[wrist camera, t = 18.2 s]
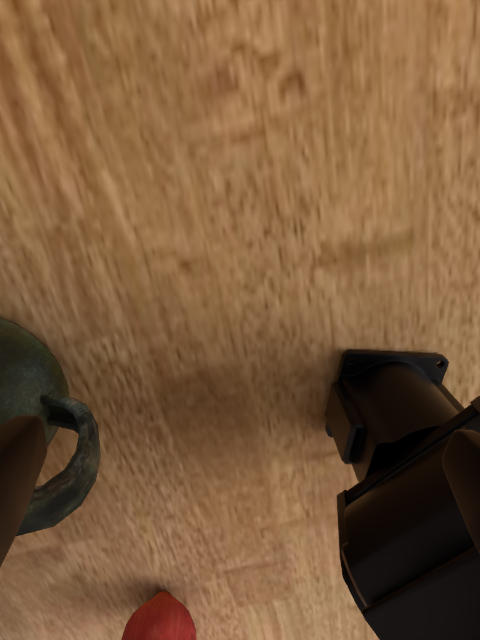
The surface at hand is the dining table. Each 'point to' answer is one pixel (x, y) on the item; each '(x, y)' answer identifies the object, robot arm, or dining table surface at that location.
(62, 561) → the dining table surface
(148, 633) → the onion
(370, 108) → the dining table surface
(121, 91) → the dining table surface
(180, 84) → the dining table surface
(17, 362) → the mug
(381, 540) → the robot arm
